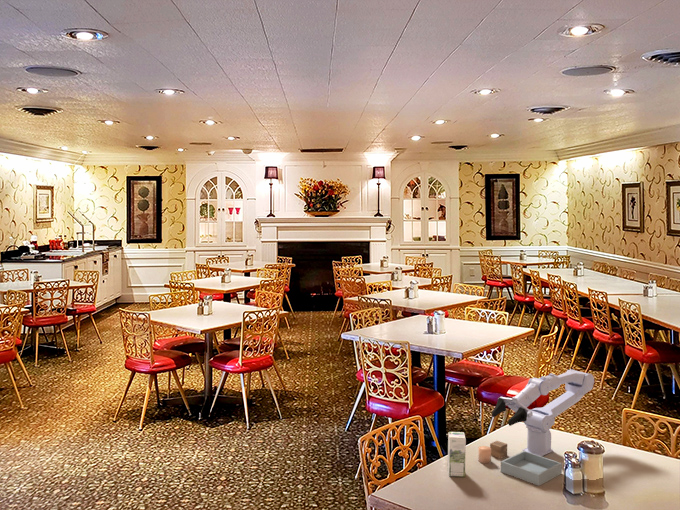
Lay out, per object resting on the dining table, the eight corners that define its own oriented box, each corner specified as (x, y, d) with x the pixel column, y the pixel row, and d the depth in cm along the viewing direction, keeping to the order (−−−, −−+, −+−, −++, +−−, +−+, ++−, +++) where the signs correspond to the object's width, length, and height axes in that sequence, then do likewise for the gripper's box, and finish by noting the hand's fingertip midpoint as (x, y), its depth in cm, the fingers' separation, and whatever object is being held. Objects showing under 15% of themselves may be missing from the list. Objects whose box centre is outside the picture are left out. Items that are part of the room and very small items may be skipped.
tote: (523, 460, 227) (524, 450, 227) (561, 473, 215) (561, 463, 215) (500, 471, 217) (500, 461, 217) (538, 485, 205) (538, 475, 205)
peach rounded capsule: (483, 457, 229) (483, 445, 229) (493, 461, 226) (493, 448, 226) (475, 461, 226) (476, 448, 226) (486, 464, 223) (486, 451, 223)
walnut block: (496, 452, 235) (497, 440, 235) (507, 455, 232) (507, 443, 232) (489, 455, 232) (490, 443, 232) (500, 458, 229) (500, 446, 229)
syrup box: (463, 470, 218) (464, 431, 217) (465, 477, 212) (465, 437, 211) (447, 470, 218) (448, 430, 217) (448, 477, 212) (449, 436, 212)
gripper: (507, 383, 234) (484, 403, 228) (538, 398, 222) (515, 418, 216) (509, 398, 237) (487, 417, 231) (540, 412, 225) (517, 433, 219)
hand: (500, 419), depth 224 cm, fingers open, 7 cm apart
